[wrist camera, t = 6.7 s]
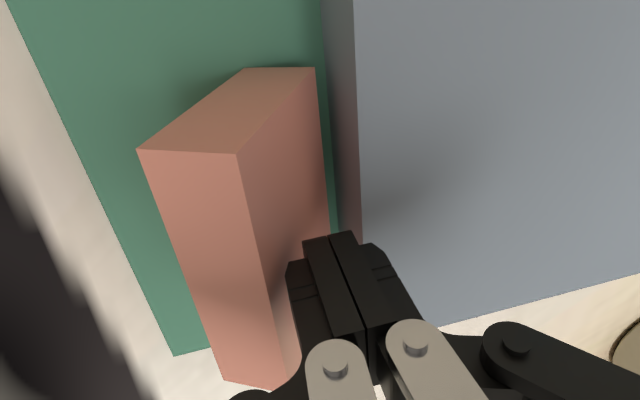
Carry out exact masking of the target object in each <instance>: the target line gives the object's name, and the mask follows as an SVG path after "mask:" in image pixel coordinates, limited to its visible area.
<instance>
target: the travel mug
mask: <svg viewBox="0 0 640 400" xmlns="http://www.w3.org/2000/svg"><path fill="white" fill-rule="evenodd" d="M612 363H613V364H615V365H617V366H620V367H622V368H624V369H627V370H629V371H631V372H634V373H636V374H638V375H640V322H639V323H638V324H636V325H635V326H634V327H632V328H631V329H630V330H629V331H628V332H627V334H626V335H625V336H624V337H623V338H622V339H621V341H620V343H619V345H618V346H617V348H616V350H615V353H614V355H613V360H612Z"/></svg>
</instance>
